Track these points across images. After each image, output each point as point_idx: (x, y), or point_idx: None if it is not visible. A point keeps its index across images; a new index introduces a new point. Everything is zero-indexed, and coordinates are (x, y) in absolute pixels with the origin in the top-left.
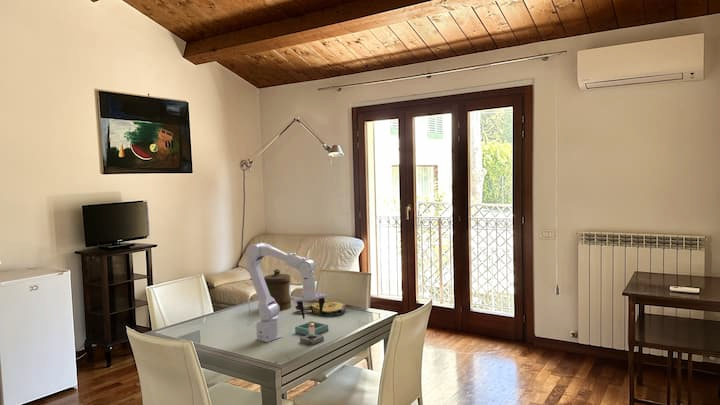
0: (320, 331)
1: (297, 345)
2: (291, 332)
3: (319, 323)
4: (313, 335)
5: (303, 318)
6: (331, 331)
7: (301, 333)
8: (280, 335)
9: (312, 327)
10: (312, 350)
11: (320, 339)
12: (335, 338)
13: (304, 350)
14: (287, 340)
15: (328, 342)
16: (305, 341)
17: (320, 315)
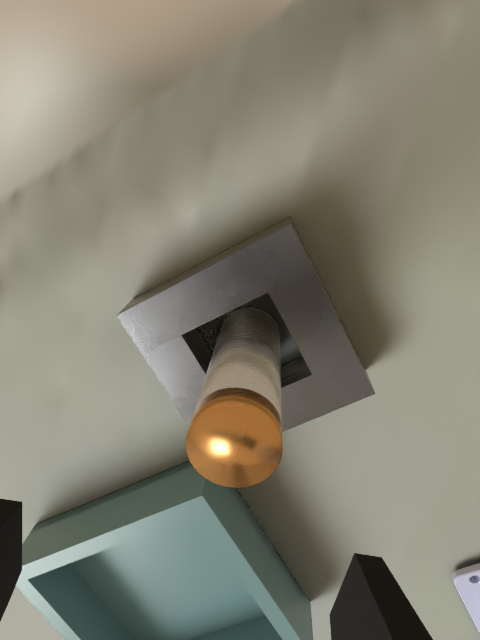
0: (107, 507)
1: (427, 295)
2: None
3: (76, 634)
4: (233, 336)
5: (380, 560)
6: None
7: (276, 557)
8: (466, 592)
9: (234, 382)
10: (344, 35)
11: (167, 285)
12: (6, 309)
13: (429, 86)
14: (450, 474)
15: (99, 225)
16: (335, 311)
17: (9, 509)
